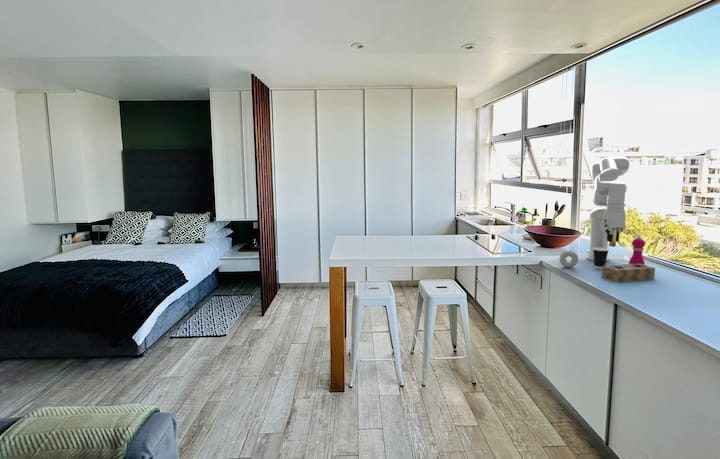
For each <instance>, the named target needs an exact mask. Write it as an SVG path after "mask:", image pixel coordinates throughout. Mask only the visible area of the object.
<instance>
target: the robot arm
mask: <svg viewBox="0 0 720 459" xmlns="http://www.w3.org/2000/svg"><path fill="white" fill-rule="evenodd" d="M629 169H630V159H629V158H627V157H626V156H606V157H604V158H602V159H601V160H600V161H598V162H594V163H592V164H591V168H590V174H591V178H592V181H593V184H594V185H593V189H594V190H593V204H594V206H596V207H604V208H595V209H592V210H591V212H590V214H589V218H590V234H589V235H590V238H589V249H588V250H587V251H586V252H585V253H586V254H587V255H586V257H587V258H586V257H585V258H586V259H587V260H590V261H594V249H593V248H607V249H608V246H609V242H612V240H613V234H612V230H613V228H617V236H616V243H618V242H619V241H620V234H621V233H622V232H623V231H624V230H626V228H627V226H626V209H625V207H626V203H625V199H626V192H627V190H628V189H627V184H626V183H625V182H624V181H616V180H617V179H618V178H619V177H621V176H624V174H625V173H627V172H628V170H629ZM605 207H606V208H605ZM608 261H610V257H608V256H607V259H606V262H608Z"/></svg>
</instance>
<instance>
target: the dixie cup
mask: <svg viewBox="0 0 720 459" xmlns="http://www.w3.org/2000/svg"><path fill="white" fill-rule="evenodd" d="M593 249H594V260H593V264H594V268H595V269H602V270H603V266H606V262H607V261H606V259H607V257H608V253H609V248H608V247H607V248H593Z"/></svg>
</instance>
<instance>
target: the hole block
mask: <svg viewBox="0 0 720 459" xmlns="http://www.w3.org/2000/svg"><path fill="white" fill-rule="evenodd" d="M655 274H656V267H653V266H650V265H646V264H645V265H644V264H640V263H637V264H629V263H624V264H622V263H621V264H607V265H605V266H603V269H602V274H601V277H602V278H604V279H608V280H610V281H612V280H613V282H615V281H616V282H615V283H618V282H619V281H622V282H635V280H636V281H645V280H646V281H647V280H655ZM619 283H620V282H619Z"/></svg>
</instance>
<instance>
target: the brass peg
mask: <svg viewBox="0 0 720 459" xmlns="http://www.w3.org/2000/svg"><path fill="white" fill-rule="evenodd" d="M612 234H613V240H612V242H609V241H608V246H609V247H613V248H614V247H617V241H616V236H617V228H613V230H612Z"/></svg>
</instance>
